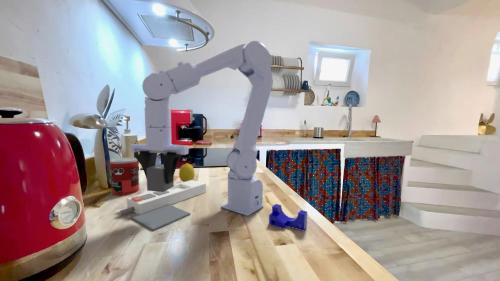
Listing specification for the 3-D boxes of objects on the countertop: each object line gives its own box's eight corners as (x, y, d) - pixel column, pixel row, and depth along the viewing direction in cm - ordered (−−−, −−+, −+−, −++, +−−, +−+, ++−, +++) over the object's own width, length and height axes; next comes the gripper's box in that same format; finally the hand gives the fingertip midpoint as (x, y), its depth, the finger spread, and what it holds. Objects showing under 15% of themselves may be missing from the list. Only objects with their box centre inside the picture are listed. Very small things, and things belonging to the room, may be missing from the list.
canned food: (109, 191, 71) (107, 159, 70) (135, 186, 77) (133, 156, 76) (114, 197, 66) (112, 162, 65) (142, 191, 72) (141, 159, 70)
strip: (192, 188, 76) (192, 178, 76) (205, 192, 72) (205, 182, 71) (115, 212, 56) (114, 199, 55) (128, 220, 52) (127, 206, 51)
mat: (190, 214, 55) (190, 213, 55) (153, 231, 47) (153, 229, 47) (167, 205, 61) (167, 203, 61) (131, 218, 53) (131, 216, 53)
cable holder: (268, 224, 51) (269, 208, 50) (275, 219, 54) (275, 203, 53) (301, 234, 47) (302, 217, 46) (306, 228, 50) (307, 211, 49)
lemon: (192, 186, 78) (191, 164, 77) (177, 186, 78) (176, 164, 77) (196, 181, 83) (196, 161, 83) (182, 181, 84) (181, 161, 83)
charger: (173, 186, 55) (173, 165, 55) (163, 192, 51) (163, 168, 50) (158, 185, 56) (157, 164, 55) (147, 190, 52) (146, 167, 51)
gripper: (193, 127, 54) (194, 179, 56) (143, 125, 57) (145, 175, 58) (179, 128, 47) (180, 187, 49) (122, 126, 50) (125, 183, 51)
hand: (160, 181), depth 53 cm, fingers closed on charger, 4 cm apart
